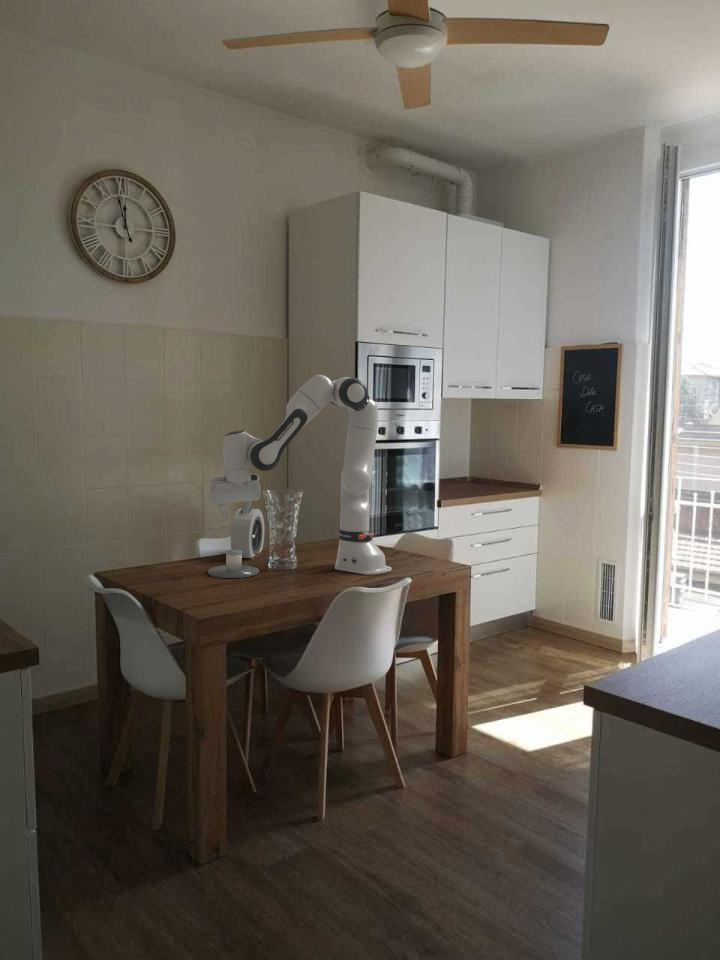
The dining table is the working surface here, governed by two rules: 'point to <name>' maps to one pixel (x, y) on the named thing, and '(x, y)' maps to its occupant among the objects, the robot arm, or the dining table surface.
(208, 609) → the dining table surface
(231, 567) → the cup
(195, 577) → the dining table surface
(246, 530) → the alarm clock
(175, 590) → the dining table surface
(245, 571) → the disc
